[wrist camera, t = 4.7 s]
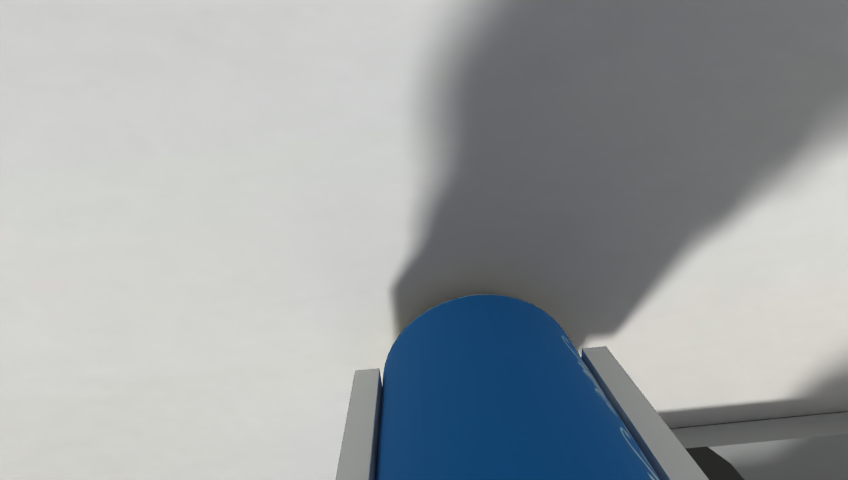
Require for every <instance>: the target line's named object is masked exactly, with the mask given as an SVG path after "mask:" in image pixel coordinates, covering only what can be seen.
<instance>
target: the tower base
mask: <svg viewBox="0 0 848 480" xmlns="http://www.w3.org/2000/svg"><path fill="white" fill-rule="evenodd" d="M670 430H671V431H672V432H673V434H674V435H675V436H676V438H677V439H678V440H679V441H680V443H681V444H682V445H683V447H684V448H685V449H686V448H696V447H706V446H707V447H708V448H710V449H711V450H713V451H714V452H715V453H717V454H718V455H720V456H721V457H722V458H724V459H725V460H727V461H728V462H729V463H731V465H732V466H733V467H734V468H735V469H736V470H737V471H738V473H739V474H740V475H741V476H742V477H743V478H744V480H848V412H841V413H830V414H820V415H810V416H800V417H789V418H779V419H769V420H759V421H748V422H738V423H728V424H718V425H707V426H697V427H687V428H676V429H670Z"/></svg>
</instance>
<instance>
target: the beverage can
mask: <svg viewBox="0 0 848 480" xmlns="http://www.w3.org/2000/svg"><path fill="white" fill-rule="evenodd" d="M375 480H660V478H659V477H658V475H657V474H656V472H655V471H654V469H653V468H652V466H651V465H650V463H649V462H648V460H647V458H646V457H645V455H644V454H643V452H642V451H641V449H640V448H639V446H638V445H637V443H636V441H635V440H634V438H633V437H632V435H631V434H630V432H629V431H628V429H627V428H626V426H625V425H624V423H623V421H622V420H621V418H620V417H619V415H618V414H617V412H616V411H615V409H614V408H613V406H612V405H611V403H610V401H609V400H608V398H607V397H606V395H605V394H604V392H603V391H602V389H601V388H600V386H599V385H598V383H597V381H596V380H595V378H594V377H593V375H592V374H591V372H590V371H589V369H588V368H587V366H586V365H585V363H584V361H583V360H582V358H581V357H580V355H579V354H578V352H577V351H576V349H575V348H574V346H573V344H572V343H571V341H570V340H569V338H568V337H567V335H566V334H565V332H564V331H563V330H562V328H561V327H560V325H559V324H558V323H557V322H556V321H555V320H554V319H553V318H552V317H551V316H549V315H548V314H547V313H545V312H544V311H543V310H541V309H540V308H538V307H536V306H534V305H532V304H530V303H528V302H525V301H523V300H520V299H517V298H513V297H509V296H504V295H496V294H477V295H468V296H463V297H459V298H455V299H451V300H449V301H446V302H443V303H440V304H438V305H436V306H434V307H432V308H430V309H428V310H427V311H425V312H424V313H422V314H421V315H419V316H418V317H417V318H416V319H414V320H413V321H412V322H411V323H410V324H409V325H408V326H407V327H406V328H405V329H404V330H403V331H402V332H401V333H400V335H399V336H398V338H397V339H396V341H395V342H394V344H393V346H392V348H391V350H390V352H389V354H388V357H387V360H386V363H385V367H384V374H383V385H382V398H381V411H380V423H379V436H378V448H377V461H376V474H375Z"/></svg>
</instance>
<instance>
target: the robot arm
mask: <svg viewBox="0 0 848 480" xmlns="http://www.w3.org/2000/svg"><path fill="white" fill-rule="evenodd" d="M582 360H583V361H584V363H585V365H586V366H587V368H588V369H589V371H590V372H591V374H592V375H593V377H594V378H595V380H596V381H597V383H598V385H599V386H600V388H601V389H602V391H603V392H604V394H605V395H606V397H607V398H608V400H609V401H610V403H611V405H612V406H613V408H614V409H615V411H616V412H617V414H618V415H619V417H620V418H621V420H622V421H623V423H624V425H625V426H626V428H627V429H628V431H629V432H630V434H631V435H632V437H633V438H634V440H635V441H636V443H637V445H638V446H639V448H640V449H641V451H642V452H643V454H644V455H645V457H646V458H647V460H648V462H649V463H650V465H651V466H652V468H653V469H654V471H655V472H656V474H657V475H658V477H659V478H660V480H744V478H743V477H742V476H741V475H740V474H739V473H738V471H737V470H736V469H735V468H734V467H733V466H732V465H731V463H729V462H728V461H727V460H725V459H724V458H722V457H721V456H720V455H718V454H717V453H715V452H714V451H713V450H711V449H710V448H708V447H707V446H706V447H696V448H686V449H685V448H684V447H683V445H682V444H681V443H680V441H679V440H678V439H677V438H676V436H675V435H674V434H673V432H672V431H671V430H670V429H669V427H668V426H667V425H666V423H665V422H664V421H663V420H662V418H661V417H660V416H659V414H658V413H657V412H656V410H655V409H654V408H653V407H652V405H651V404H650V403H649V401H648V400H647V399H646V398H645V396H644V395H643V394H642V392H641V391H640V390H639V388H638V387H637V386H636V385H635V383H634V382H633V381H632V379H631V378H630V377H629V376H628V374H627V373H626V372H625V370H624V369H623V368H622V366H621V365H620V364H619V363H618V361H617V360H616V359H615V357H614V356H613V355H612V354H611V352H610V351H609V350H608V348H607V347H606V346H604V347H594V348H583V349H582ZM381 398H382V383H381V376H380V370H379V368H378V369H368V370H358V371H355V375H354V380H353V386H352V391H351V397H350V402H349V408H348V413H347V419H346V424H345V430H344V435H343V441H342V446H341V452H340V458H339V463H338V469H337V474H336V480H375V474H376V461H377V448H378V436H379V423H380V411H381Z"/></svg>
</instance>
